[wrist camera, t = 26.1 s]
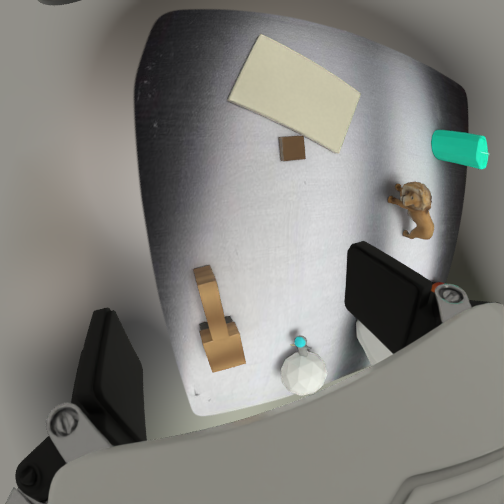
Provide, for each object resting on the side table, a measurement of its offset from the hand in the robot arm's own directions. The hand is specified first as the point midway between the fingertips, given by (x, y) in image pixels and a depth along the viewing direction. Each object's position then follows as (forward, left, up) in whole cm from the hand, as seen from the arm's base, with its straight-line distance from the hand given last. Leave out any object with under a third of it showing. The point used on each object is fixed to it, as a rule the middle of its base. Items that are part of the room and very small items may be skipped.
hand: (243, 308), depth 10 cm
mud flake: (+10, +10, -24) cm, 27 cm away
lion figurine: (+32, +10, -24) cm, 41 cm away
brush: (+8, -14, -24) cm, 29 cm away
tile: (+8, +17, -24) cm, 30 cm away
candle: (+38, +26, -24) cm, 52 cm away
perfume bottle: (+25, -20, -24) cm, 40 cm away
